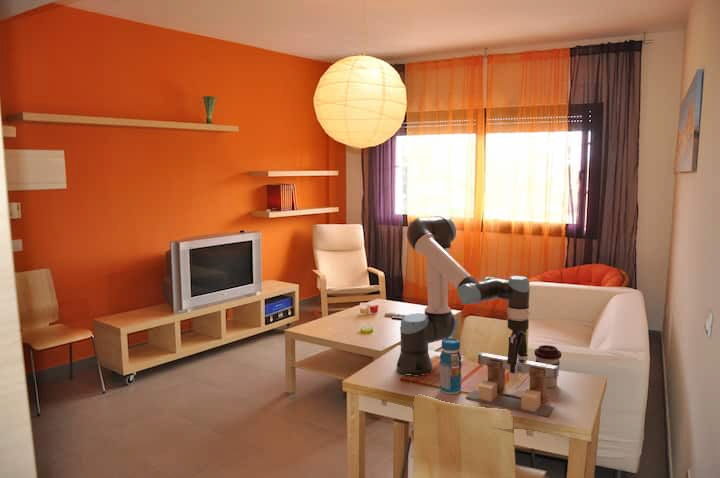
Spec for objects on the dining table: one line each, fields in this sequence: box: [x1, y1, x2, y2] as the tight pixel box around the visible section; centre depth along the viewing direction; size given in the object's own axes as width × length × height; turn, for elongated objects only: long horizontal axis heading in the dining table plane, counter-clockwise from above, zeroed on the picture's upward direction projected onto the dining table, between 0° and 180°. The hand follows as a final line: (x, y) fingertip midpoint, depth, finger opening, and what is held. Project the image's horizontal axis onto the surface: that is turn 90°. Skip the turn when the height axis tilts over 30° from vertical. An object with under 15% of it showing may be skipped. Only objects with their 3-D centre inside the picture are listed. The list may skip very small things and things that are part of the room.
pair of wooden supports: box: [486, 360, 549, 405], centre depth 208 cm, size 22×6×12 cm, turn 57°
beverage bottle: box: [438, 337, 462, 395], centre depth 212 cm, size 8×8×20 cm
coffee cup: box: [534, 344, 562, 389], centre depth 217 cm, size 10×10×15 cm
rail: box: [477, 351, 560, 379], centre depth 207 cm, size 29×4×4 cm, turn 57°
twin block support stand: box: [465, 379, 555, 418], centre depth 201 cm, size 30×8×6 cm, turn 57°
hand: (516, 376), depth 208 cm, fingers open, 8 cm apart
